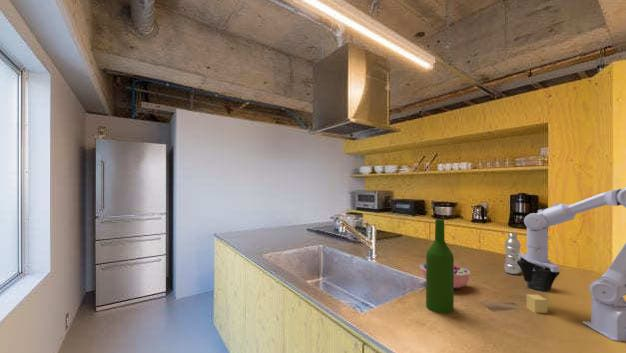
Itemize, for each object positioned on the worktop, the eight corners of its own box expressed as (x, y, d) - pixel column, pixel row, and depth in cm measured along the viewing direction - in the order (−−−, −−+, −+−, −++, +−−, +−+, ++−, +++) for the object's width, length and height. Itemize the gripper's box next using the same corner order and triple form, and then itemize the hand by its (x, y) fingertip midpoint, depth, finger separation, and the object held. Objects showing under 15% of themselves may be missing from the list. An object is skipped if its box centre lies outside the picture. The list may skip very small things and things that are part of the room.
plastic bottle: (501, 272, 135) (501, 232, 135) (509, 270, 138) (509, 231, 138) (515, 276, 130) (515, 235, 130) (523, 274, 132) (523, 233, 132)
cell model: (475, 299, 106) (475, 270, 106) (420, 292, 112) (420, 264, 112) (466, 283, 122) (466, 258, 122) (418, 277, 128) (418, 253, 128)
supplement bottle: (526, 285, 119) (526, 258, 119) (547, 289, 115) (547, 261, 115) (526, 290, 114) (526, 262, 114) (548, 295, 109) (548, 265, 109)
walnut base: (538, 323, 88) (538, 319, 88) (500, 322, 89) (500, 318, 89) (514, 306, 100) (514, 302, 100) (480, 304, 101) (480, 301, 101)
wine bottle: (439, 302, 103) (439, 217, 103) (459, 314, 94) (459, 221, 94) (420, 306, 99) (420, 218, 99) (440, 318, 91) (440, 222, 91)
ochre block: (547, 317, 92) (547, 299, 92) (535, 316, 93) (535, 299, 93) (538, 311, 96) (538, 294, 96) (526, 311, 97) (526, 294, 97)
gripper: (567, 252, 88) (567, 294, 88) (530, 241, 103) (530, 277, 103) (546, 252, 88) (546, 294, 88) (512, 242, 103) (512, 277, 103)
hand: (537, 285), depth 95 cm, fingers open, 7 cm apart
